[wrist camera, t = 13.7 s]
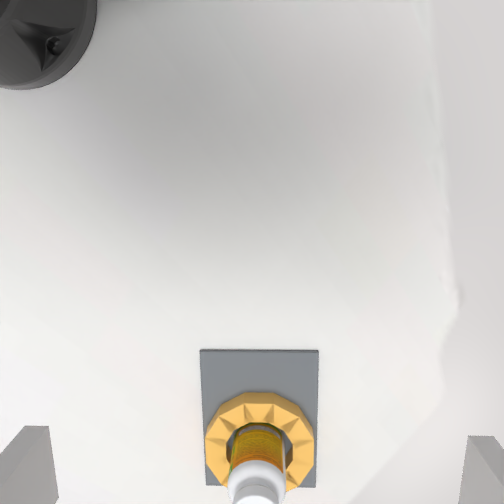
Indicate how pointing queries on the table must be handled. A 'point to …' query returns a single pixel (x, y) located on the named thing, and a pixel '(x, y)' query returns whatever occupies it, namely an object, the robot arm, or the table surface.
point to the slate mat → (260, 387)
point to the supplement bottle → (257, 465)
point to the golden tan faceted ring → (265, 411)
